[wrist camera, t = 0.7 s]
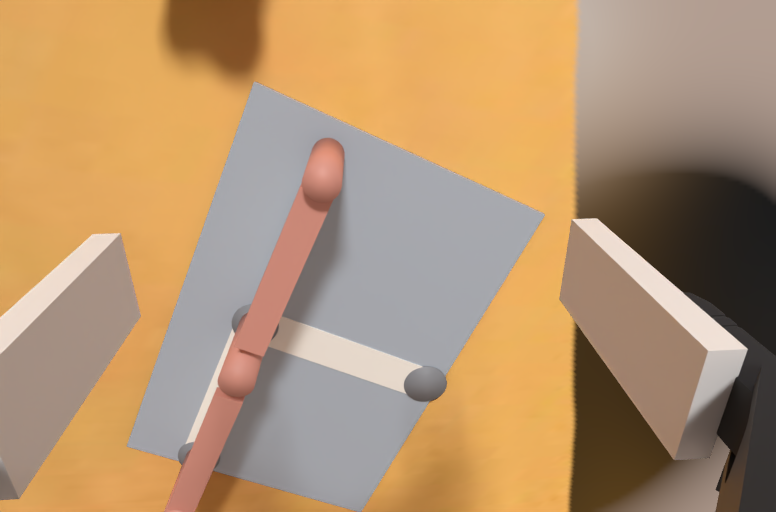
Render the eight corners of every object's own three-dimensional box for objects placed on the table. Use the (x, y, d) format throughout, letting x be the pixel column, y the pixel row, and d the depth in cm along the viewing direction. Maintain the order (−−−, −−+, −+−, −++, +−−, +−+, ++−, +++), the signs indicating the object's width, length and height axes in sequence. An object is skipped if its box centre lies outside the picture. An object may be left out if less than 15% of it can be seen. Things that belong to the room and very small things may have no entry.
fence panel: (277, 311, 40) (263, 364, 34) (249, 301, 39) (229, 353, 33) (349, 146, 35) (348, 174, 29) (318, 132, 34) (310, 157, 28)
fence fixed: (183, 457, 47) (153, 533, 40) (246, 303, 41) (224, 362, 34) (210, 465, 47) (185, 541, 40) (276, 314, 41) (260, 374, 34)
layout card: (126, 447, 46) (124, 452, 45) (255, 81, 34) (253, 82, 33) (363, 514, 51) (364, 519, 50) (550, 216, 39) (552, 218, 38)
